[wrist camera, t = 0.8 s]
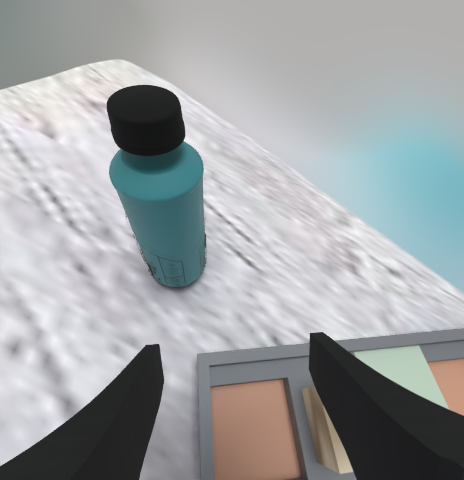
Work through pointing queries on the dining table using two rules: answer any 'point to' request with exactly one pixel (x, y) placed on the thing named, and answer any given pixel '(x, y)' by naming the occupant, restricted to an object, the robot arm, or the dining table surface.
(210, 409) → the box
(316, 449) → the maple block
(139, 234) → the beverage bottle
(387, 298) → the dining table surface
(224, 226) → the dining table surface
